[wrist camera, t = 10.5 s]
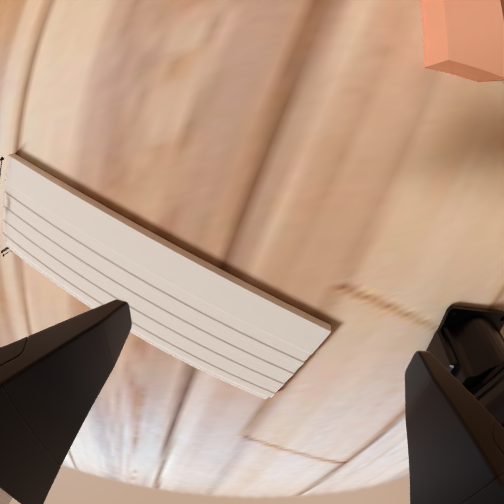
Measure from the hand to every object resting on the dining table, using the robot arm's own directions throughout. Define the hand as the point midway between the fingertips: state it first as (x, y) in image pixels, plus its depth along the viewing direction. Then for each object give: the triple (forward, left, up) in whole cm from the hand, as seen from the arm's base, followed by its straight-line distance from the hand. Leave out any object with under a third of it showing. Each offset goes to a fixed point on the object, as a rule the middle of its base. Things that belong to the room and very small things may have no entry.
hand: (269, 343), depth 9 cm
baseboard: (+12, +8, -13) cm, 20 cm away
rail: (-8, -19, -12) cm, 24 cm away
